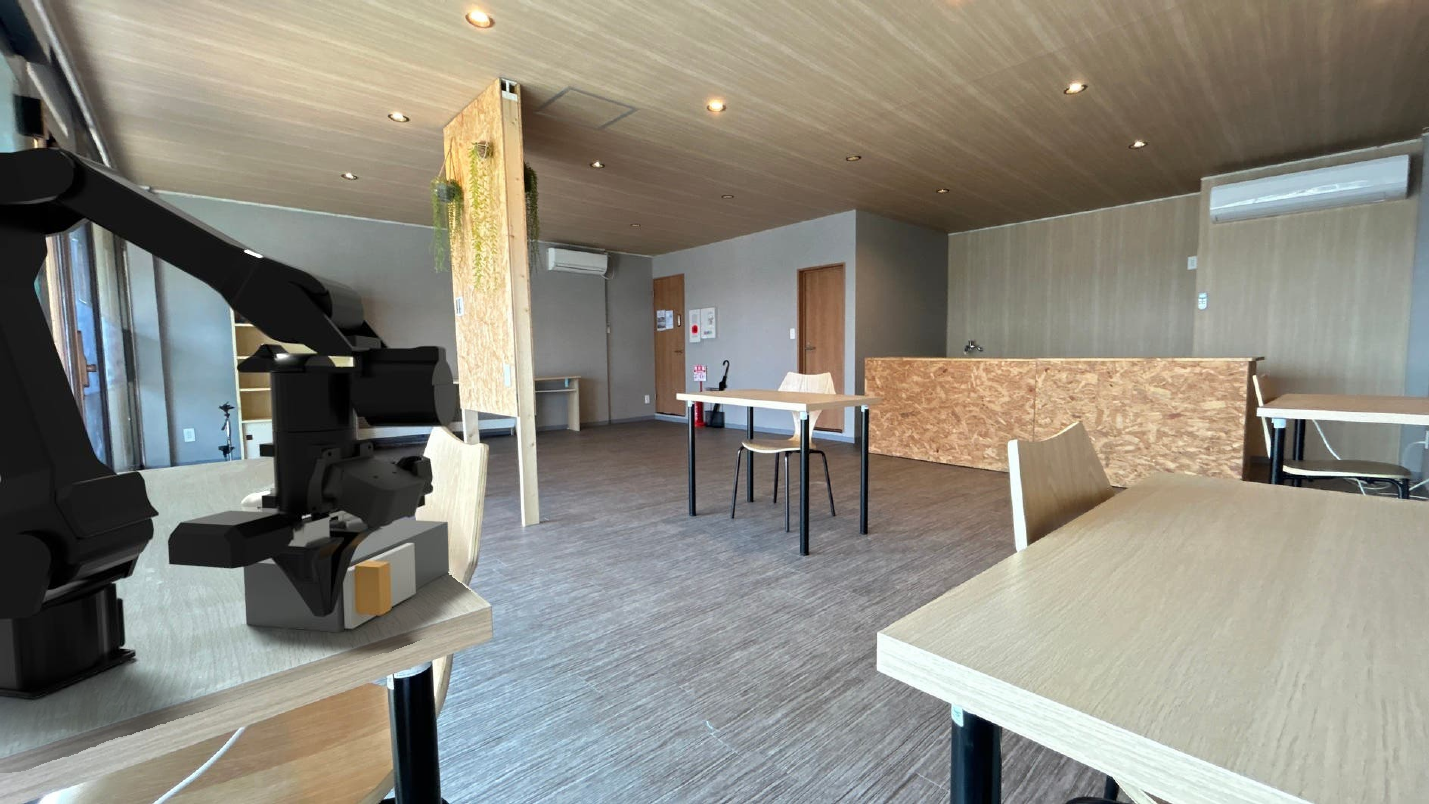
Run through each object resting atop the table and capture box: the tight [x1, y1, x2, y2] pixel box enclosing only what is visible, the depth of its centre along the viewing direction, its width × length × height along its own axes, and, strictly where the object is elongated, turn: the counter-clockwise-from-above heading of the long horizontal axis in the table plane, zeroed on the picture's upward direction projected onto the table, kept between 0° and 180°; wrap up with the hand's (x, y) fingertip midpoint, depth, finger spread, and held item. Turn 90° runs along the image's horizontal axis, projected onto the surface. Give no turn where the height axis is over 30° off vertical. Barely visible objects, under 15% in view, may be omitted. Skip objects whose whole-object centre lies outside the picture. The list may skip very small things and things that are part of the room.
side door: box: [343, 543, 417, 630], centre depth 56 cm, size 8×3×6 cm, turn 170°
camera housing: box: [243, 519, 450, 633], centre depth 61 cm, size 17×10×7 cm, turn 170°
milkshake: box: [240, 487, 277, 513], centre depth 69 cm, size 4×5×10 cm
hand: (323, 615), depth 47 cm, fingers closed
